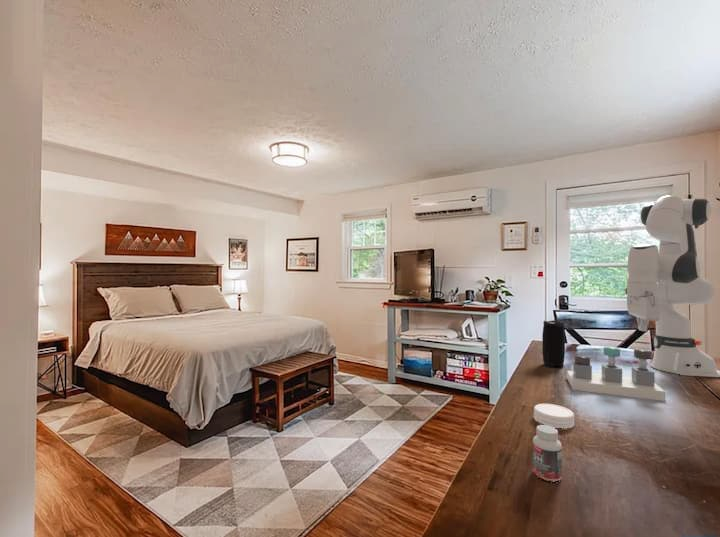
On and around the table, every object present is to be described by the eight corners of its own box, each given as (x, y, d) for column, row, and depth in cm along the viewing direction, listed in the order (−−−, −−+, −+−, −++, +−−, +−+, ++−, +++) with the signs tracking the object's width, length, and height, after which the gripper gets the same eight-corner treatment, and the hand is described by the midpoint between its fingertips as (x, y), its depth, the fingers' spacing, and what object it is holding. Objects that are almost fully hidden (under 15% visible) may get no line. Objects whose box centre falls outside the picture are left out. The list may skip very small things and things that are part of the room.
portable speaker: (554, 362, 161) (554, 319, 161) (569, 368, 151) (570, 322, 151) (537, 363, 159) (537, 320, 159) (552, 369, 150) (552, 323, 150)
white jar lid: (525, 418, 102) (525, 406, 102) (550, 412, 105) (550, 400, 105) (557, 433, 92) (557, 419, 92) (582, 426, 96) (582, 413, 96)
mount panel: (649, 387, 127) (649, 365, 127) (665, 400, 114) (665, 376, 114) (567, 378, 138) (567, 358, 137) (572, 389, 125) (572, 367, 125)
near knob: (648, 367, 124) (649, 349, 124) (653, 371, 119) (654, 352, 119) (632, 366, 125) (632, 348, 125) (636, 369, 121) (636, 351, 121)
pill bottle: (529, 476, 73) (529, 429, 73) (536, 465, 77) (536, 420, 77) (558, 487, 69) (559, 437, 69) (564, 475, 73) (564, 428, 73)
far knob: (588, 372, 131) (588, 355, 131) (591, 376, 126) (591, 359, 126) (573, 371, 133) (573, 354, 133) (575, 374, 128) (575, 357, 128)
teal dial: (618, 364, 127) (618, 346, 127) (621, 368, 123) (621, 349, 123) (602, 363, 129) (602, 345, 129) (605, 366, 125) (605, 348, 125)
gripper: (666, 292, 111) (666, 336, 111) (644, 289, 130) (644, 327, 130) (641, 292, 114) (641, 334, 114) (623, 289, 133) (623, 325, 133)
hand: (642, 330), depth 122 cm, fingers closed
